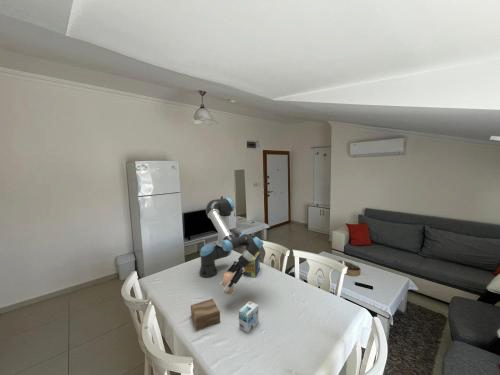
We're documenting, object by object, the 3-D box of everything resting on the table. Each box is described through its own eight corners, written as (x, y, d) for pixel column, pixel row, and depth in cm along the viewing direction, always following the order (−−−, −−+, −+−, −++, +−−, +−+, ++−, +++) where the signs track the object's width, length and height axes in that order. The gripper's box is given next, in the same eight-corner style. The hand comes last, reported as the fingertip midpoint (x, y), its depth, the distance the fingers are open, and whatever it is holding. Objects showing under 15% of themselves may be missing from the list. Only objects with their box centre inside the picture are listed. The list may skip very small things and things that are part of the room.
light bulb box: (248, 333, 119) (247, 315, 118) (238, 328, 123) (238, 310, 122) (259, 322, 128) (258, 304, 126) (250, 317, 132) (249, 300, 131)
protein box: (243, 276, 180) (242, 258, 178) (248, 267, 194) (248, 250, 193) (255, 277, 177) (254, 259, 175) (260, 269, 191) (259, 252, 190)
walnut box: (191, 315, 134) (190, 304, 134) (213, 308, 141) (212, 298, 140) (196, 330, 122) (195, 319, 121) (220, 322, 128) (219, 311, 127)
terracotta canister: (222, 290, 143) (222, 272, 141) (231, 287, 146) (230, 270, 144) (226, 295, 138) (225, 277, 136) (234, 292, 140) (234, 274, 139)
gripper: (256, 267, 138) (232, 298, 133) (243, 255, 155) (222, 283, 149) (248, 261, 135) (224, 293, 130) (236, 250, 152) (214, 278, 146)
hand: (223, 287), depth 140 cm, fingers closed on terracotta canister, 6 cm apart
